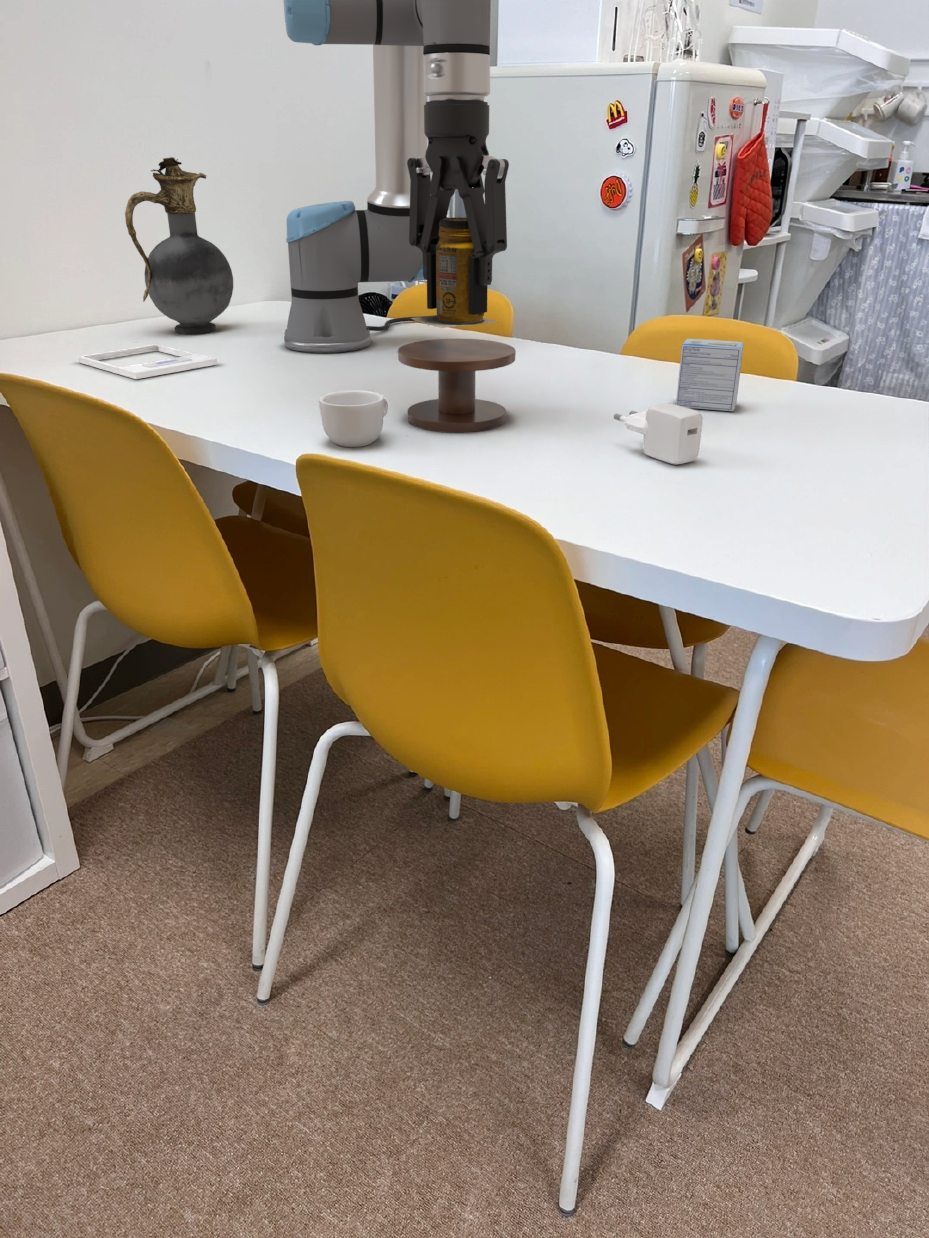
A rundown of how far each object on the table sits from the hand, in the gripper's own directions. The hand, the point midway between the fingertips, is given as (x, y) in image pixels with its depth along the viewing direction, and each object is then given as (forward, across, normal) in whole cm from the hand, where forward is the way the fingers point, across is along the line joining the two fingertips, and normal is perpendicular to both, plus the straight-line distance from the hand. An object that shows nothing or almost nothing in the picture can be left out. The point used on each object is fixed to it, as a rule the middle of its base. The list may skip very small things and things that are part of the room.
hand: (456, 310), depth 117 cm
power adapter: (+14, +28, +3) cm, 31 cm away
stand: (+14, 0, 0) cm, 14 cm away
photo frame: (+14, -60, -6) cm, 62 cm away
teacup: (+14, -3, -15) cm, 21 cm away
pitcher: (+14, -80, +16) cm, 82 cm away
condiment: (+2, 0, 0) cm, 2 cm away
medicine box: (+14, +22, +27) cm, 38 cm away
